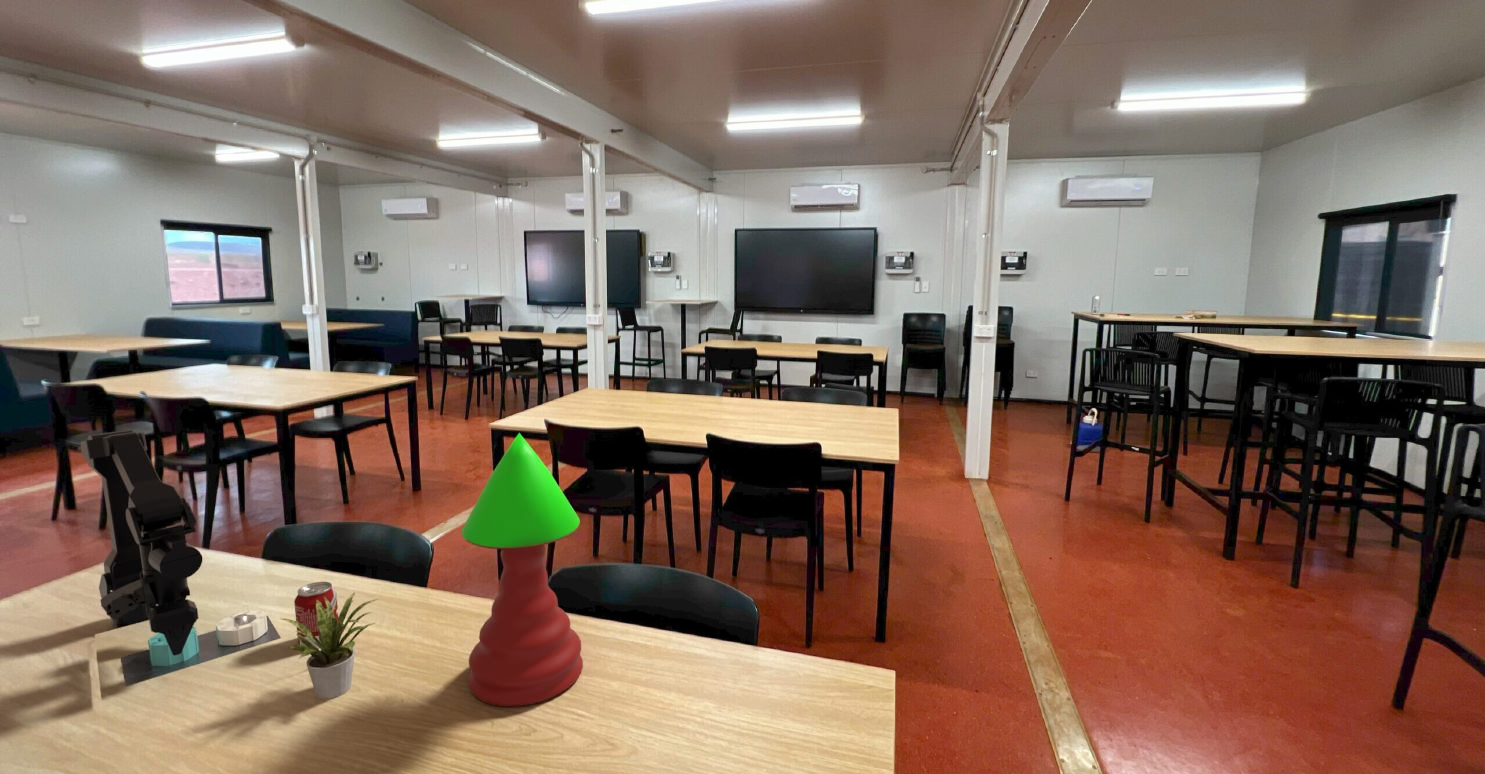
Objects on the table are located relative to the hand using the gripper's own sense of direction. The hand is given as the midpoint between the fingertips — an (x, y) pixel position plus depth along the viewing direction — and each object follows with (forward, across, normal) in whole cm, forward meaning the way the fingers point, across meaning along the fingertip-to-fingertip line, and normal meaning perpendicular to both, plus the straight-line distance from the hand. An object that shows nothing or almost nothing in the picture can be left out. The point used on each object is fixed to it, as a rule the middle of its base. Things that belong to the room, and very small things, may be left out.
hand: (173, 644), depth 119 cm
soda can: (+4, +12, +20) cm, 24 cm away
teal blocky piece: (+2, 0, 0) cm, 2 cm away
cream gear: (+2, 0, +10) cm, 10 cm away
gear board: (+4, 0, +4) cm, 5 cm away
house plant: (+4, +30, +19) cm, 36 cm away
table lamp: (+4, +48, +44) cm, 65 cm away
